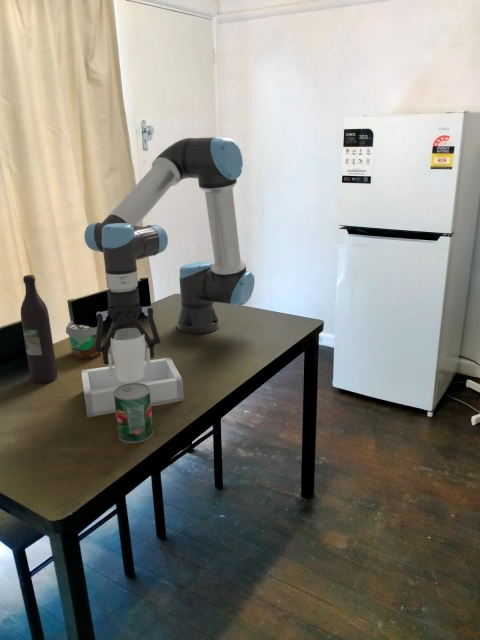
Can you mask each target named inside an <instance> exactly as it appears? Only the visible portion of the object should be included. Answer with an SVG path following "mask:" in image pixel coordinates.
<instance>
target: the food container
mask: <svg viewBox="0 0 480 640" xmlns="http://www.w3.org/2000/svg"><path fill="white" fill-rule="evenodd" d="M96 330H97V326H96V327H92V326H90V325H87V324H77V323H74V322H73V320H71V321H70V322H68V323H67V325H66V327H65V333H66V334H67V335H68V337H69V342H70V346H71V350H72V355H73V357H74V358H75V359H79V360H91V359H95V358H99V357H101V354H102V352H96V351H95V348H94V345H95V338H96Z"/></svg>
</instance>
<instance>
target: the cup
mask: <svg viewBox="0 0 480 640" xmlns="http://www.w3.org/2000/svg"><path fill="white" fill-rule="evenodd" d="M146 344H147V342H146V341H145V336H144V335H141V333H140V332H139V330H138V328H137V327H127V328H126V327H125V328H121V329H120V328H118V329H117V331H116V333H115V335H114V338H113V339H112V338H111V345H110V347H109V349H110V352H111V359H112V363H113V366H115V370H116V374H117V378H118V380H120V381H122V382H135V381H138V380H140V379H142V378H143V376H144V363H145V361H146V354H145V349H146Z"/></svg>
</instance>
